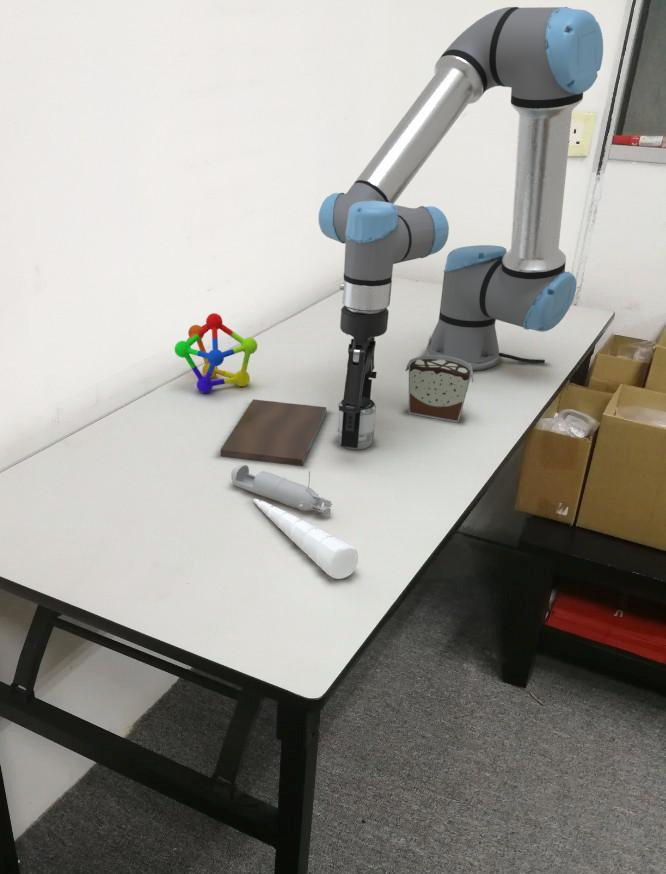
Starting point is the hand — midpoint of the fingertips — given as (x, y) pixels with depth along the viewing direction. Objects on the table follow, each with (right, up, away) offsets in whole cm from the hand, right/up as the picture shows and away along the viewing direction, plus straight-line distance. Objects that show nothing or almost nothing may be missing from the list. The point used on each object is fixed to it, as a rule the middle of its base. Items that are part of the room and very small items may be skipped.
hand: (355, 429), depth 147 cm
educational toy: (-25, +11, +21) cm, 35 cm away
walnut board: (-14, 0, +4) cm, 14 cm away
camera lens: (0, -2, +1) cm, 3 cm away
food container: (+17, +5, +13) cm, 22 cm away
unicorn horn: (-11, -19, -26) cm, 34 cm away
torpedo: (-13, -13, -16) cm, 25 cm away
